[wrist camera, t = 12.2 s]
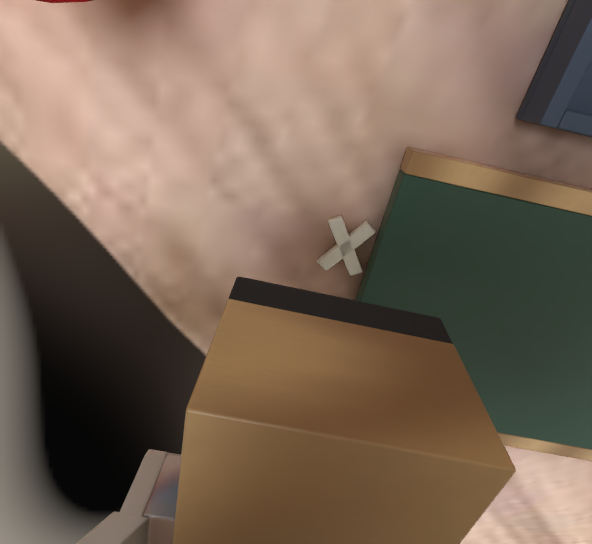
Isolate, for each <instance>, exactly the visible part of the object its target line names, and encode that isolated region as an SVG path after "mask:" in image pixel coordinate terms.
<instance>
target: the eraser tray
mask: <svg viewBox="0 0 592 544" xmlns="http://www.w3.org/2000/svg"><path fill="white" fill-rule="evenodd" d="M516 119H519V120H523V121H527V122H531V123H535V124H540V125H544V126H548V127H552V128H556V129H560V130H564V131H569V132H573V133H577V134H581V135H585V136H589V137H592V0H569V2H568V4H567V6H566V8H565V10H564V13H563V15H562V17H561V19H560V22H559V24H558V26H557V28H556V30H555V33H554V35H553V37H552V39H551V41H550V44H549V46H548V48H547V50H546V52H545V55H544V57H543V59H542V61H541V63H540V66H539V68H538V70H537V72H536V74H535V77H534V79H533V81H532V83H531V85H530V88H529V90H528V92H527V94H526V97H525V99H524V101H523V103H522V105H521V108H520V110H519V112H518V114H517V116H516Z"/></svg>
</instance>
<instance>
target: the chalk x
mask: <svg viewBox="0 0 592 544" xmlns="http://www.w3.org/2000/svg"><path fill="white" fill-rule="evenodd" d="M328 224H329V226H330V228H331V231H332V233H333V236H334V238H335V241H336V243H337V244H336V245H335V246H334V247H332V248H331V249H330V250H329V251H328V252H326V253H325V254H324V255H323V256H321V257H320V258H319V259H318V264H319V265H320V266H321V267H322V268H323V269H324V270H325V271H328V270H329V269H330V268H331V267H333V266H334V265H335V264H337V263H338V262H339V261H340V260H342V259H343V260H344V263H345V265H346V268H347V270H348V272H349V275H350V276H353V275H356V274H359V273H361V272H363V270H362V267H361V264H360V262H359V259H358V257H357V254H356V251H355V249H356V248H357V247H358V246H360V245H361V244H362V243H363V242H365V241H366V240H367V239H368V238H370V237H371V236H372V235H374V234H375V233H376V231H375V229H374V228H373V227H372V226H371V225H370V224H369V222H368V221H365V222H363V223H362V224H361V225H360V226H359V227H357V228H356V229H355V230H354V231H352V232H351V233H350V234H349V233H348V231H347V228H346V226H345V223H344V221H343V218H342V216H341V215H339V216H337V217H334V218H331V219H329V220H328Z"/></svg>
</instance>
